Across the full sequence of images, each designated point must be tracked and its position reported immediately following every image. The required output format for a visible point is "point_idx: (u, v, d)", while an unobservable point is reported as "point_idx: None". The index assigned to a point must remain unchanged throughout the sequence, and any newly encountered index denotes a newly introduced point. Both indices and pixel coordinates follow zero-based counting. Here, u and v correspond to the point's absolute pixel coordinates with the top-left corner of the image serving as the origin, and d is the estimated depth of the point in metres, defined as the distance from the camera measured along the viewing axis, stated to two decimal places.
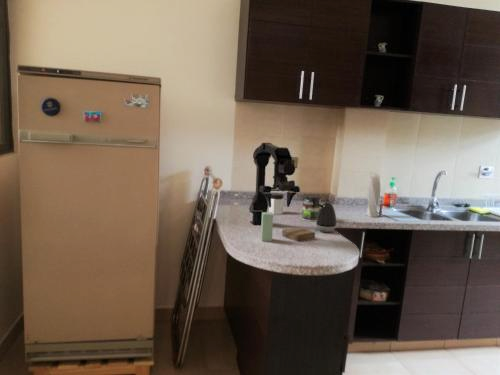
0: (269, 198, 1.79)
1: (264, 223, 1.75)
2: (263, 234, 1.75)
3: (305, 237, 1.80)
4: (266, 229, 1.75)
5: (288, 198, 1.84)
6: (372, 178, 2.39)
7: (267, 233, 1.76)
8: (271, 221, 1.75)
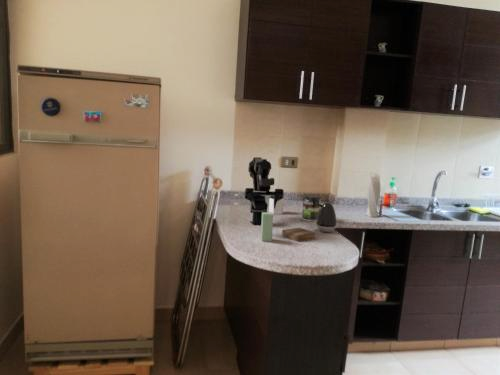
0: (253, 198, 1.85)
1: (264, 223, 1.75)
2: (263, 234, 1.75)
3: (305, 237, 1.80)
4: (266, 229, 1.75)
5: (274, 201, 1.87)
6: (372, 178, 2.39)
7: (267, 233, 1.76)
8: (271, 221, 1.75)
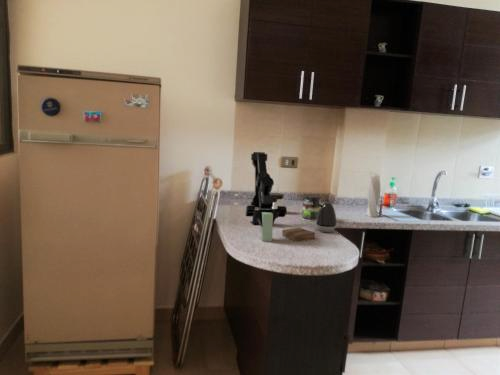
0: (259, 216, 1.77)
1: (264, 223, 1.75)
2: (263, 234, 1.75)
3: (305, 237, 1.80)
4: (266, 229, 1.75)
5: None
6: (372, 178, 2.39)
7: (267, 233, 1.76)
8: (271, 221, 1.75)
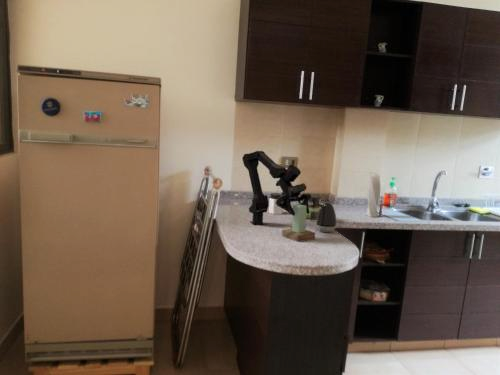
0: (290, 205, 1.80)
1: (300, 215, 1.81)
2: (299, 226, 1.81)
3: (305, 237, 1.80)
4: (301, 220, 1.82)
5: None
6: (372, 178, 2.39)
7: (302, 224, 1.82)
8: (305, 212, 1.82)
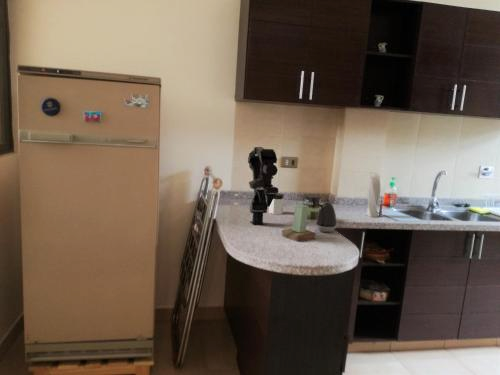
0: (258, 194, 1.99)
1: (302, 215, 1.81)
2: (300, 225, 1.81)
3: (305, 237, 1.80)
4: (303, 220, 1.82)
5: None
6: (372, 178, 2.39)
7: (303, 224, 1.83)
8: (307, 212, 1.83)
